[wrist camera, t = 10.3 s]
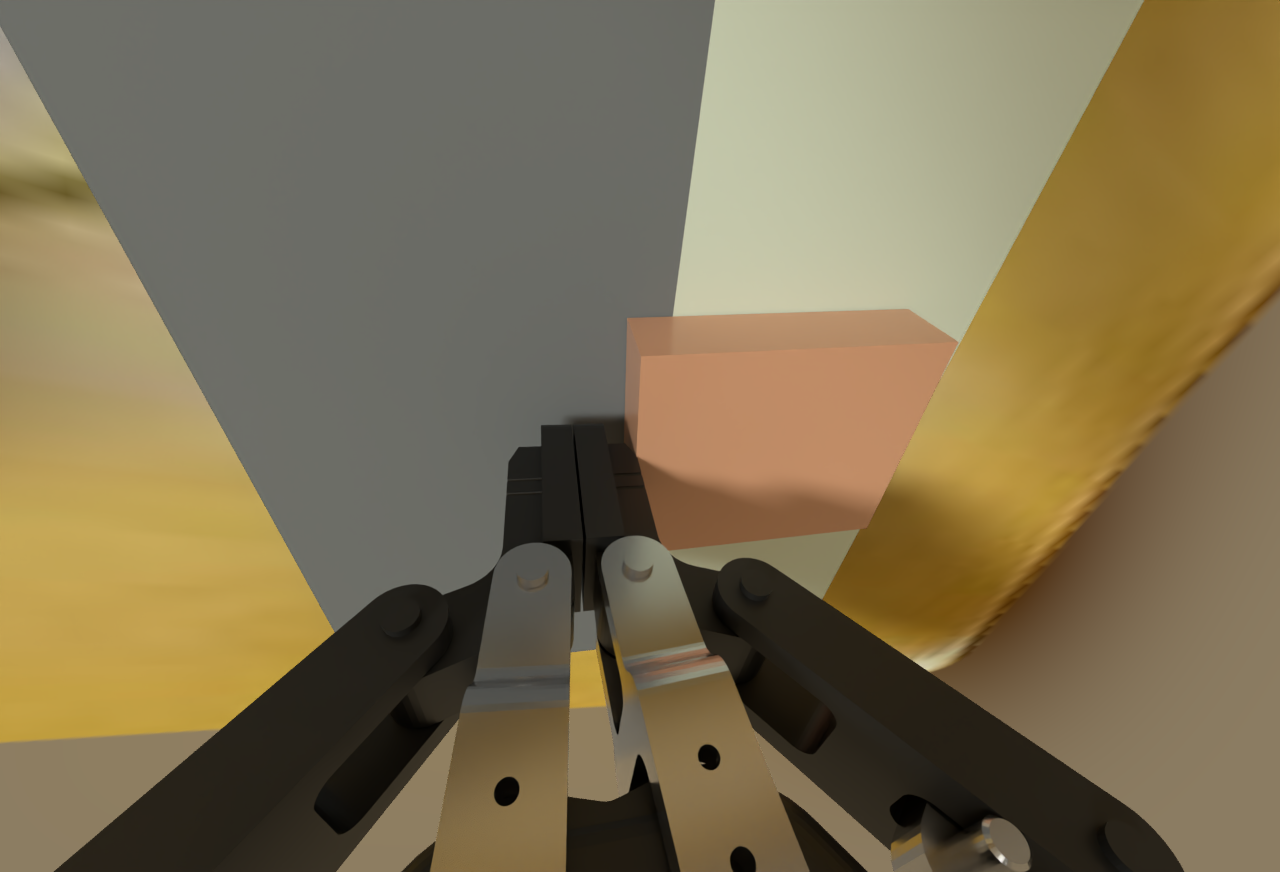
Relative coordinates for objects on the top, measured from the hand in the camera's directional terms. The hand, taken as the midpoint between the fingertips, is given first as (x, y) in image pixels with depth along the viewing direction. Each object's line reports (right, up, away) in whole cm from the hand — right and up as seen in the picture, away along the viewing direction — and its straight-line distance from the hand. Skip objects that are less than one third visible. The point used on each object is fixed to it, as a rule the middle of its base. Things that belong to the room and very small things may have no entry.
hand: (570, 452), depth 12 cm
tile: (+5, 0, +1) cm, 5 cm away
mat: (+1, +1, +1) cm, 2 cm away
